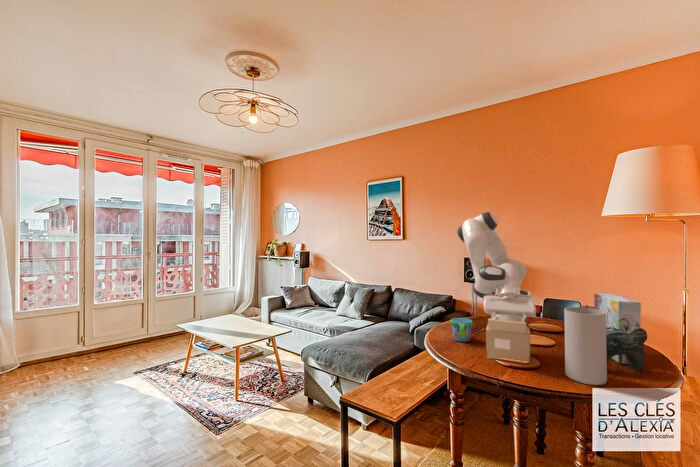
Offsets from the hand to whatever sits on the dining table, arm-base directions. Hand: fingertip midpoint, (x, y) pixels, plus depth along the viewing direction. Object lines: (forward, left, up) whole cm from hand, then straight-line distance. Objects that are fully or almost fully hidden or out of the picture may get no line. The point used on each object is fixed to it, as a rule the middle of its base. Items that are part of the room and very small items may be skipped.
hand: (509, 322), depth 138 cm
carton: (-8, +3, -17) cm, 19 cm away
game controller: (+9, +39, -17) cm, 43 cm away
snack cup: (-30, -10, -17) cm, 36 cm away
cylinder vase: (+16, +20, -17) cm, 31 cm away
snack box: (-6, +50, -17) cm, 53 cm away
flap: (+1, -1, -1) cm, 2 cm away
